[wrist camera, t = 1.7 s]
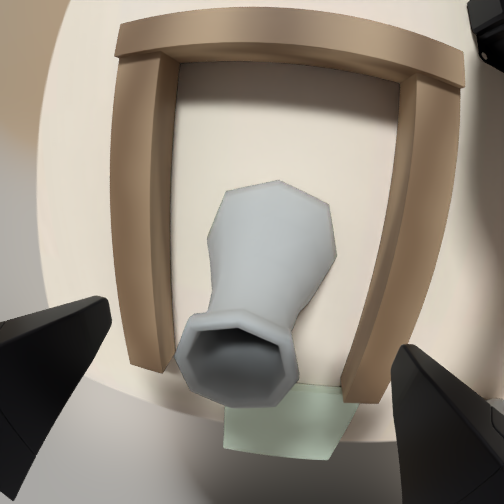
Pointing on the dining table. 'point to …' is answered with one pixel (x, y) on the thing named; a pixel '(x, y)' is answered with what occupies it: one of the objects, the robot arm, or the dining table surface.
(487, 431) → the robot arm
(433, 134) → the frame
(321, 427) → the pad
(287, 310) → the flask
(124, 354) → the dining table surface
